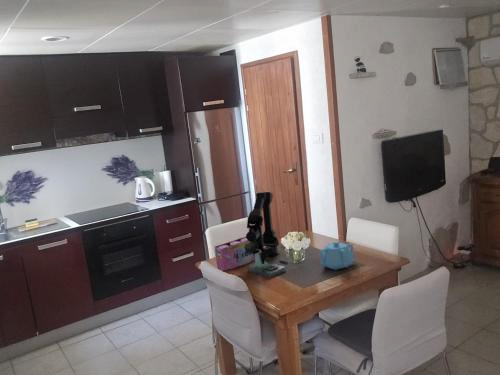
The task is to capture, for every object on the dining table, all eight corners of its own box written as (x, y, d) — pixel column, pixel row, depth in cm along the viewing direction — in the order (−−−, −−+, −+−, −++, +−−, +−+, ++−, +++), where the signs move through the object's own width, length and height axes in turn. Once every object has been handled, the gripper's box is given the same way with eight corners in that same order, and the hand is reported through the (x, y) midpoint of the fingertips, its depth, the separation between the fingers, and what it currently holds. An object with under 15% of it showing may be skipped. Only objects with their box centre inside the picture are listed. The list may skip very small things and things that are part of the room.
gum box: (249, 257, 270) (247, 235, 268) (257, 259, 264) (255, 238, 261) (217, 268, 257) (213, 246, 254) (224, 271, 250) (221, 248, 248)
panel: (263, 265, 253) (263, 259, 253) (285, 271, 239) (285, 265, 239) (247, 271, 246) (247, 266, 245) (269, 278, 232) (268, 272, 231)
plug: (261, 265, 248) (259, 252, 247) (266, 267, 245) (264, 253, 244) (255, 267, 246) (254, 254, 245) (260, 269, 243) (259, 255, 242)
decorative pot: (346, 273, 226) (343, 248, 224) (317, 269, 236) (315, 245, 233) (358, 262, 239) (356, 238, 237) (330, 259, 249) (328, 236, 246)
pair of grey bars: (280, 261, 256) (280, 259, 256) (287, 263, 251) (287, 261, 251) (271, 265, 251) (271, 263, 251) (279, 267, 247) (278, 265, 247)
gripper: (235, 237, 245) (238, 264, 248) (257, 242, 231) (260, 271, 233) (250, 232, 252) (253, 258, 254) (272, 237, 237) (275, 264, 240)
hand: (260, 263), depth 245 cm, fingers closed on plug, 4 cm apart
